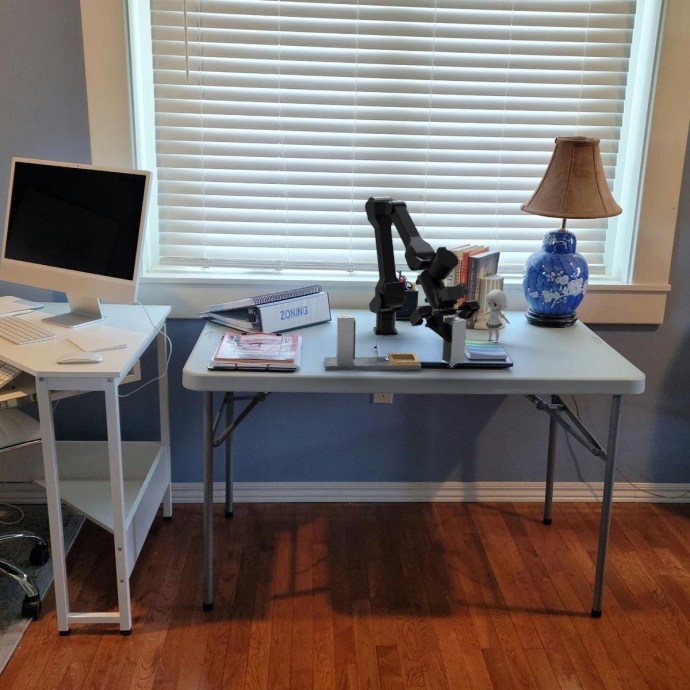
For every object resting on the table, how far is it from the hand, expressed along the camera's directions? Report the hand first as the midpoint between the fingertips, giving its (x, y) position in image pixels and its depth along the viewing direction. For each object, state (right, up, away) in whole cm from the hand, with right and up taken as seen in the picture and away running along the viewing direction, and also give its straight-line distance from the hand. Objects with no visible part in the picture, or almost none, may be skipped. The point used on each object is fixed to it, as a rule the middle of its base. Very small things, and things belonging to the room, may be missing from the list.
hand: (457, 341), depth 197 cm
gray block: (-1, -6, +3) cm, 7 cm away
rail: (-22, -6, +1) cm, 23 cm away
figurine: (+14, 0, +24) cm, 28 cm away
